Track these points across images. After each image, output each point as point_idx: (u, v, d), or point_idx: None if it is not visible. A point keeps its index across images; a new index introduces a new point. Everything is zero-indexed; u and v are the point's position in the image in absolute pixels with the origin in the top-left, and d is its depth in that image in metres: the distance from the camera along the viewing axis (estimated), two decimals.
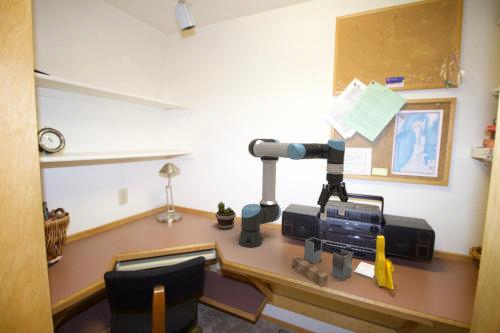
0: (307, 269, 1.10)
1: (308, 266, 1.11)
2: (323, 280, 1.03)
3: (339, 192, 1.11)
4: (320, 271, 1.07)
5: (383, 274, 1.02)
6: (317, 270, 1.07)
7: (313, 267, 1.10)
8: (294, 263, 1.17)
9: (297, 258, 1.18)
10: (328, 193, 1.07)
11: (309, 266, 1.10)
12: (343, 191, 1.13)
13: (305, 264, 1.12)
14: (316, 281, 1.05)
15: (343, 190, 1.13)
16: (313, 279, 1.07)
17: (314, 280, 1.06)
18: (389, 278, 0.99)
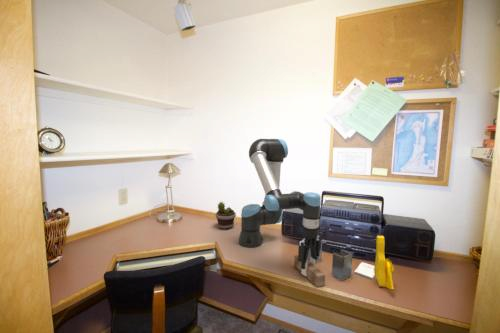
0: None
1: (307, 265, 1.11)
2: (319, 280, 1.02)
3: (313, 246, 1.11)
4: (318, 271, 1.06)
5: (383, 274, 1.02)
6: (315, 269, 1.07)
7: (312, 266, 1.10)
8: (296, 260, 1.18)
9: None
10: (305, 248, 1.09)
11: (309, 265, 1.10)
12: (316, 246, 1.13)
13: None
14: (313, 280, 1.05)
15: (317, 244, 1.13)
16: (310, 278, 1.07)
17: (311, 279, 1.06)
18: (389, 278, 0.99)
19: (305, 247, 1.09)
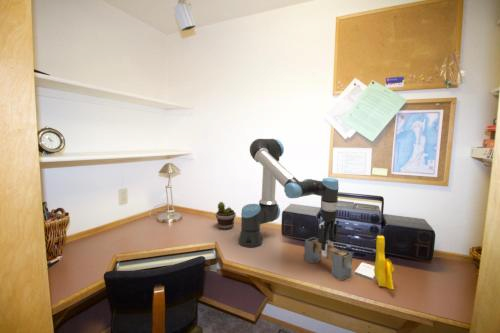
0: None
1: (327, 247, 1.17)
2: None
3: (331, 229, 1.17)
4: (339, 251, 1.13)
5: (383, 274, 1.02)
6: (336, 250, 1.14)
7: (332, 248, 1.16)
8: None
9: (315, 241, 1.24)
10: (325, 231, 1.15)
11: (328, 247, 1.17)
12: (334, 229, 1.19)
13: None
14: None
15: (335, 228, 1.19)
16: None
17: None
18: (389, 278, 0.99)
19: (324, 229, 1.15)
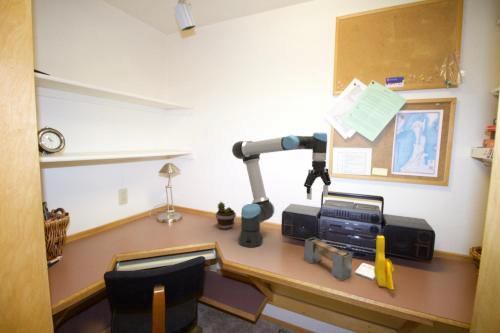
0: (326, 250, 1.16)
1: (327, 247, 1.17)
2: None
3: (323, 177, 1.33)
4: (339, 251, 1.13)
5: (383, 274, 1.02)
6: (336, 250, 1.14)
7: (332, 248, 1.16)
8: None
9: (315, 241, 1.24)
10: (313, 177, 1.29)
11: (328, 247, 1.17)
12: (326, 176, 1.35)
13: (324, 245, 1.19)
14: None
15: (326, 175, 1.35)
16: None
17: None
18: (389, 278, 0.99)
19: (313, 176, 1.29)
